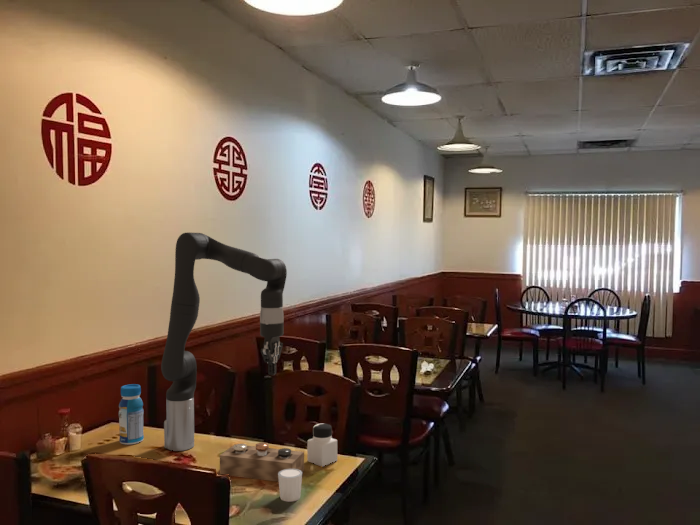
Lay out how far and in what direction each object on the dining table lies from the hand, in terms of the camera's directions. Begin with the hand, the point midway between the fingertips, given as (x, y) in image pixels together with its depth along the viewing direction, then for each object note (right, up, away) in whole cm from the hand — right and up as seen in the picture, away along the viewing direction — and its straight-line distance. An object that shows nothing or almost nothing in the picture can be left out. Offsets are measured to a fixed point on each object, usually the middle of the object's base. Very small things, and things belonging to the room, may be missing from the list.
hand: (272, 374), depth 191 cm
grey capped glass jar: (+5, -29, -9) cm, 31 cm away
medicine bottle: (+16, -29, +3) cm, 33 cm away
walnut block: (-2, -29, -6) cm, 30 cm away
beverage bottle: (-53, -28, +22) cm, 64 cm away
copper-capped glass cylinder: (-2, -28, -7) cm, 29 cm away
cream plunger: (-9, -29, -4) cm, 31 cm away
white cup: (+8, -30, -24) cm, 40 cm away
